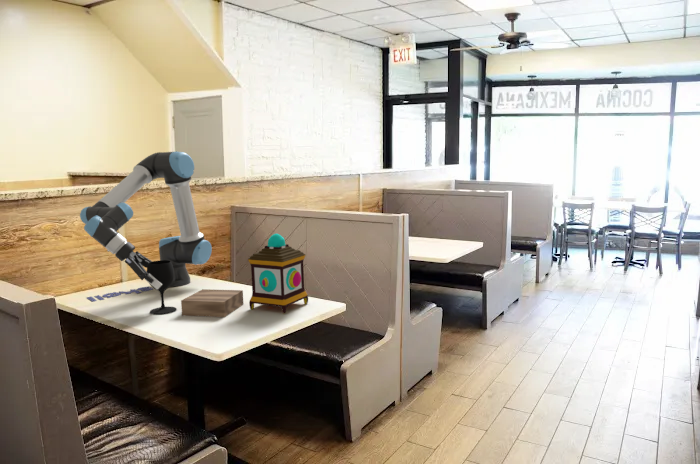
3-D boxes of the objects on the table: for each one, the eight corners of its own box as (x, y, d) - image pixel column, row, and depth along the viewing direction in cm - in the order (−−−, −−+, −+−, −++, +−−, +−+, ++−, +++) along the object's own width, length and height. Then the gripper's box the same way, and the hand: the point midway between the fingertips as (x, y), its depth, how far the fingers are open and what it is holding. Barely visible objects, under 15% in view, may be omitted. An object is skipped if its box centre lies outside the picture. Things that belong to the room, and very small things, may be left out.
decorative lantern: (244, 310, 219) (240, 235, 215) (273, 298, 237) (270, 229, 232) (286, 315, 210) (282, 238, 206) (313, 302, 227) (310, 231, 223)
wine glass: (165, 315, 214) (162, 265, 212) (144, 313, 218) (139, 264, 215) (182, 308, 224) (178, 260, 221) (160, 306, 227) (157, 259, 225)
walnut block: (203, 303, 231) (202, 289, 230) (243, 304, 228) (242, 290, 227) (182, 315, 214) (181, 300, 213) (225, 317, 210) (224, 301, 209)
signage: (148, 285, 264) (156, 289, 257) (148, 287, 264) (156, 290, 257) (85, 296, 246) (92, 300, 238) (85, 298, 246) (92, 302, 239)
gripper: (123, 249, 227) (163, 283, 231) (105, 260, 203) (150, 297, 207) (135, 236, 227) (175, 270, 231) (118, 245, 203) (163, 283, 207)
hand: (163, 283), depth 219 cm, fingers open, 13 cm apart
